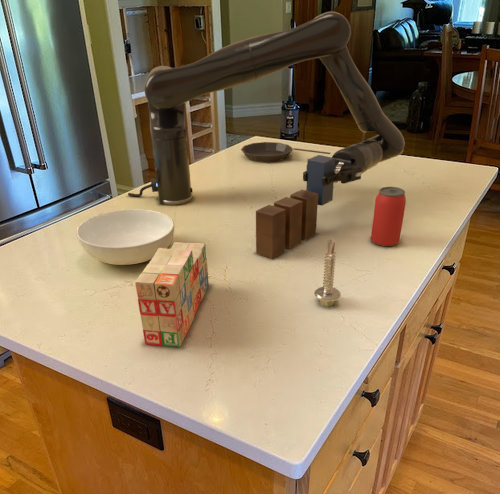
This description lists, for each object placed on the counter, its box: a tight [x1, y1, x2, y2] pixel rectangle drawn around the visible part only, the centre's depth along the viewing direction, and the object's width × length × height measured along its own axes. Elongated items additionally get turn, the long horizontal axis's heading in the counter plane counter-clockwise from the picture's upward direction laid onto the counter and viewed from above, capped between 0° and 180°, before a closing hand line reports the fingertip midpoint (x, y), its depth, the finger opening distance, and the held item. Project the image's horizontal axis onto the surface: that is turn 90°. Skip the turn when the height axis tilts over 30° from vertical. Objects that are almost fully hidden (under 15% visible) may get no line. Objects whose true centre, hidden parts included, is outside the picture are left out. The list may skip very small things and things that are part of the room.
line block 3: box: [289, 189, 319, 241], centre depth 120 cm, size 5×5×10 cm
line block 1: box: [255, 204, 286, 260], centre depth 112 cm, size 5×5×10 cm
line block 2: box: [273, 196, 303, 250], centre depth 116 cm, size 5×5×10 cm
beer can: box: [370, 186, 407, 247], centre depth 116 cm, size 7×7×12 cm
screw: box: [313, 239, 342, 307], centre depth 93 cm, size 13×5×5 cm
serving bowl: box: [76, 208, 175, 266], centre depth 113 cm, size 21×21×7 cm
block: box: [305, 154, 335, 207], centre depth 120 cm, size 5×5×10 cm
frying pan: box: [240, 141, 331, 163], centre depth 174 cm, size 18×32×4 cm, turn 62°
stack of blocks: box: [134, 241, 210, 348], centre depth 91 cm, size 21×6×12 cm, turn 170°
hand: (314, 179), depth 118 cm, fingers closed on block, 4 cm apart
